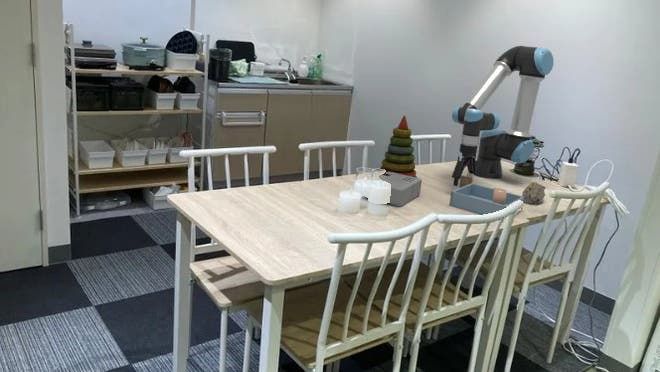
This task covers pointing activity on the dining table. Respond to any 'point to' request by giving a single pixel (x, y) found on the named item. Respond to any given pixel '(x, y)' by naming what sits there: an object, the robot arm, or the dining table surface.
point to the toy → (400, 152)
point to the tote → (479, 199)
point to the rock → (533, 193)
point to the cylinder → (499, 196)
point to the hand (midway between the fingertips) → (461, 189)
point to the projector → (402, 187)
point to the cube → (465, 181)
